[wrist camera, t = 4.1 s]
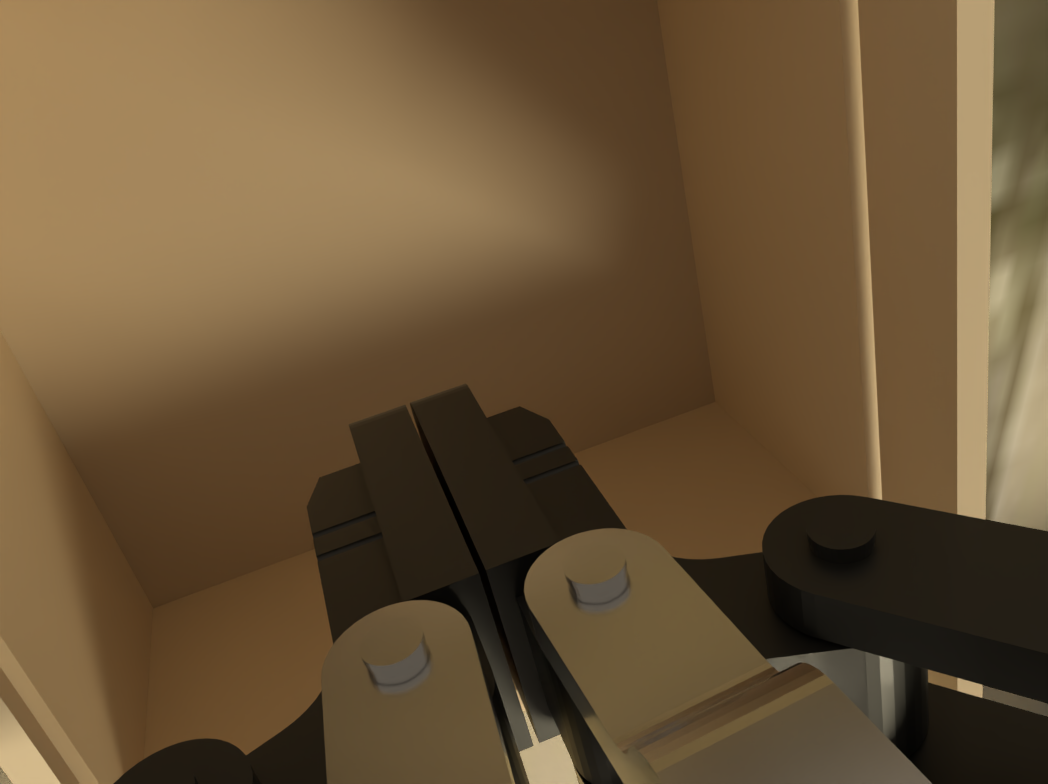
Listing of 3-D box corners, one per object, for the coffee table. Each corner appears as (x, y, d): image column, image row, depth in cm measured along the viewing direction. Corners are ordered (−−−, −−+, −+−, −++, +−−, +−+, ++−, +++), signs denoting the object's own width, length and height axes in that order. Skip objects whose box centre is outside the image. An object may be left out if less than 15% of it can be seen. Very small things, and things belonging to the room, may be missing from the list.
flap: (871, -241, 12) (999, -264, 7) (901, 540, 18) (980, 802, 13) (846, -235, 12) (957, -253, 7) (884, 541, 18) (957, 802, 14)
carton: (629, -261, 18) (849, -351, 12) (724, 414, 25) (890, 570, 19) (-227, -49, 16) (-495, -28, 10) (150, 626, 23) (135, 880, 17)
